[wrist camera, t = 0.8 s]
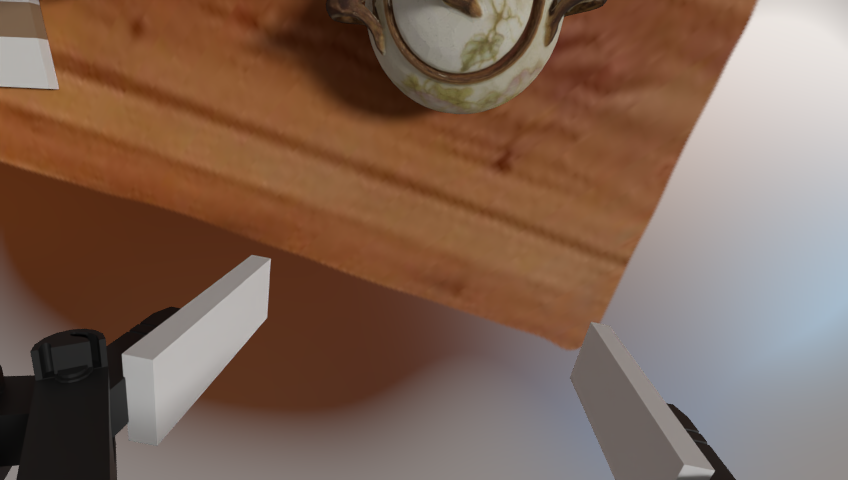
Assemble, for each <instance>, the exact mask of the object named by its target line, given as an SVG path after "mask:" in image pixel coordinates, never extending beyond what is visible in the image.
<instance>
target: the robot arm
mask: <svg viewBox="0 0 848 480" xmlns="http://www.w3.org/2000/svg"><path fill="white" fill-rule="evenodd" d="M270 261H271V259H270V258H265V257H260V256H255V255H251V256H250V257H249V258H247V259H246V260H245V261H243V262H242V263H241V264H239V265H238V266H237V267H235V268H234V269H233V270H232V271H230V272H229V273H227V274H226V275H225V276H224V277H222V278H221V279H220V280H218V281H217V282H216V283H214V284H213V285H212V286H211V287H209V288H208V289H206V290H205V291H204V292H202V293H201V294H200V295H199V296H197V297H196V298H195V299H193V300H192V301H191V302H189V303H188V304H187V305H185V306H184V307H183V308H181V309H180V308H175V307H169V308H166V309H164V310H161V311H158V312H156V313H153V314H152V315H150V316H149V317H148V318H146V319H145V320H143V321H142V322H141V323H140V325H139V324H138V325H136V326H135V327H133V328H132V329H131V330H130V332H126V333H125V334H124V335H122V336H121V337H119V338H118V339H116V340H115V341H114V342H112V343H111V344H109V345H108V346H107V347H106V340H105V337H104V335H103V333H100V332H98V331H96V330H89V329H75V330H68V331H64V332H59V333H56V334H53V335H51V336H48V337H46V338H44V339H42V340H41V341H39V342H38V343H36V344H35V345H34V347H33V348H32V350H31V357H32V362H33V368H34V374H35V376H3V371H2V367H1V365H0V480H4V479H5V477H6V476H7V474H8V472H9V470H10V469H11V467H12V466H15V465H19V469H18V474H17V480H117V467H116V442H115V435H116V434H117V433H118V432H119V431H120V430H121V429H122V428H123V427H124V426H125V425H126V424H127V425H128V437H129V441H134V442H140V443H145V444H150V445H155V446H158V444H159V443H160V442H161V441H162V440H163V439H164V438H165V436H166V435H167V434H168V433H169V432H170V430H171V429H172V428H173V427H174V426H175V425H176V424H177V422H178V421H179V420H180V419H181V418H182V417H183V415H184V414H185V413H186V412H187V411H188V409H189V408H190V407H191V406H192V405H193V404H194V402H195V401H196V400H197V399H198V398H199V397H200V395H201V394H202V393H203V392H204V391H205V390H206V388H207V387H208V386H209V385H210V384H211V383H212V381H213V380H214V379H215V378H216V377H217V376H218V374H219V373H220V372H221V371H222V370H223V369H224V367H225V366H226V365H227V364H228V363H229V362H230V360H231V359H232V358H233V357H234V356H235V355H236V353H237V352H238V351H239V350H240V349H241V348H242V346H243V345H244V344H245V343H246V342H247V341H248V339H249V338H250V337H251V336H252V335H253V334H254V332H255V331H256V330H257V329H258V328H259V326H260V325H261V324H262V323H263V322H264V321H265V319H266V318H267V310H268V294H269V293H268V292H269V277H270ZM570 379H571V381H572V383H573V386H574V388H575V390H576V392H577V394H578V397H579V399H580V401H581V404H582V406H583V408H584V410H585V413H586V415H587V417H588V419H589V422H590V424H591V426H592V428H593V431H594V433H595V435H596V437H597V439H598V442H599V444H600V446H601V449H602V451H603V453H604V455H605V458H606V460H607V462H608V464H609V467H610V469H611V471H612V473H613V475H614V478H615V480H736V479H735V478H734V477H733V475H732V474H731V473H730V471H729V470H728V469H727V467H726V466H725V465H724V464H723V462H722V461H721V460H720V459H719V457H718V456H717V454H716V453H715V452H714V451H713V449H712V448H711V447H710V446H709V445H707V441H706V440H705V439H704V437H703V436H702V435H701V434H699V431H698V430H697V428H696V427H695V426H694V425H693V423H692V422H691V420H690V419H689V418H688V417H687V416H686V415H685V414H684V413H682V412H681V411H680V410H679V409H678V408H676V407H675V406H674V405H673V404H667V403H665V401H664V400H663V398H662V397H661V396H660V394H659V393H658V392H657V390H656V389H655V387H654V386H653V385H652V383H651V382H650V381H649V379H648V378H647V376H646V375H645V374H644V372H643V371H642V370H641V369H640V367H639V365H638V364H637V363H636V361H635V360H634V359H633V357H632V356H631V355H630V353H629V352H628V351H627V349H626V348H625V346H624V345H623V343H622V342H621V341H620V339H619V338H618V337H617V335H616V334H615V332H614V331H613V330H612V328H611V327H610V326H608V325H603V324H598V323H593V322H591V323H590V326H589V329H588V331H587V334H586V336H585V339H584V342H583V344H582V347H581V350H580V353H579V355H578V358H577V360H576V363H575V365H574V368H573V371H572V374H571V376H570Z"/></svg>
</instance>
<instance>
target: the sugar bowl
mask: <svg viewBox="0 0 848 480" xmlns="http://www.w3.org/2000/svg"><path fill="white" fill-rule="evenodd" d="M364 1H365V6H364V5H363V4H362V2H364ZM606 1H607V0H327V3H326V9H327V12H328V14H329V16H330V17H331V18H332V19H333V20H334V21H337V22H341V23H348V24H360V25H366V27H367V28H368V33H369V37H370V40H371V44H372V47H373V49H374V52H375V55H376V57H377V59H378V61H379V63H380V65H381V67H382V68H383V70H384V71H385V73H386V74H387V76H388V77H389V78H390V80H391V81H392V82H393V83H394V84H395V85H396V86H397V87H398V88H399V89H400V90H401V91H402V92H403V93H404V94H405V95H407V96H408V97H410V98H411V99H412V100H414V101H415V102H417V103H419V104H421V105H423V106H425V107H427V108H430V109H433V110H436V111H440V112H445V113H452V114H472V113H478V112H482V111H486V110H489V109H492V108H495V107H497V106H499V105H501V104H504V103H506V102H508V101H509V100H511V99H512V98H514V97H515V96H517V95H518V94H519V93H521V92H522V91H523V90H524V89H525V88H526V87H527V86H528V85H529V84H530V83H531V82H532V81H533V80H534V79H535V78H536V77H537V75H538V74H539V73H540V71H541V70H542V69H543V67H544V65H545V64H546V62H547V61H548V59H549V57H550V56H551V53H552V51H553V49H554V47H555V45H556V42H557V39H558V36H559V33H560V30H561V26H562V22H563V18H564V17H565V16H569V15H573V14H577V13H582V12H586V11H590V10H594V9H597V8H599V7H601V6H603V5H604V4H605V3H606Z"/></svg>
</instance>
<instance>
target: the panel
mask: <svg viewBox="0 0 848 480" xmlns="http://www.w3.org/2000/svg"><path fill="white" fill-rule="evenodd" d="M0 86H1V87H22V88H43V89H59V86H58V82H57V77H56V73H55V69H54V65H53V60H52V56H51V52H50V47H49V43H48V39H47V34H46V30H45V26H44V21H43V17H42V13H41V8H40V4H39V0H0Z"/></svg>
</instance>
